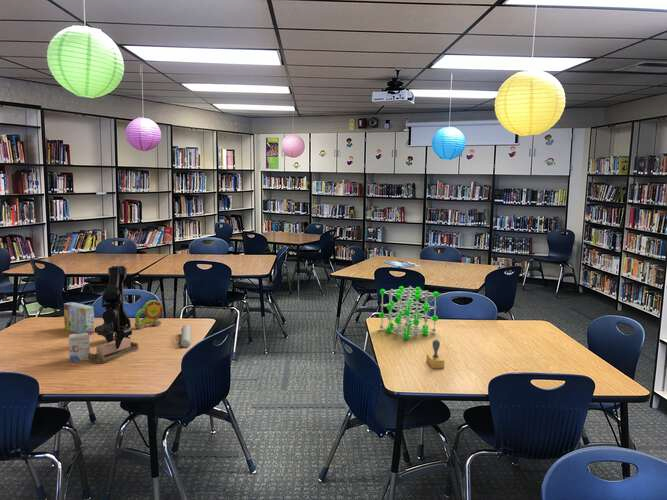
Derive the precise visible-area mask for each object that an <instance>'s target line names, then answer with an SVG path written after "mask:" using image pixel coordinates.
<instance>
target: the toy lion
mask: <svg viewBox="0 0 667 500" xmlns="http://www.w3.org/2000/svg"><path fill="white" fill-rule="evenodd" d="M163 312H164V306H163V304H162V303H161V302H160V301H158V300H155V299H154V300H152V299H151V300H148V301H146V302H145V304H144V305H143V306H142V308H140V309H139V310H138V311H137V312H136V313H135V318H134V321H135V322H134V327H135V328H136V329H138V330H143V329H144V328H145V326H146V325H153V326H155V327H160V326H161V324H162V321H161V320H160V319H159V317H161V315H162V313H163ZM143 313H144V315H145V317H143V318H142V319H141V320H140V315H141V314H143Z"/></svg>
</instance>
